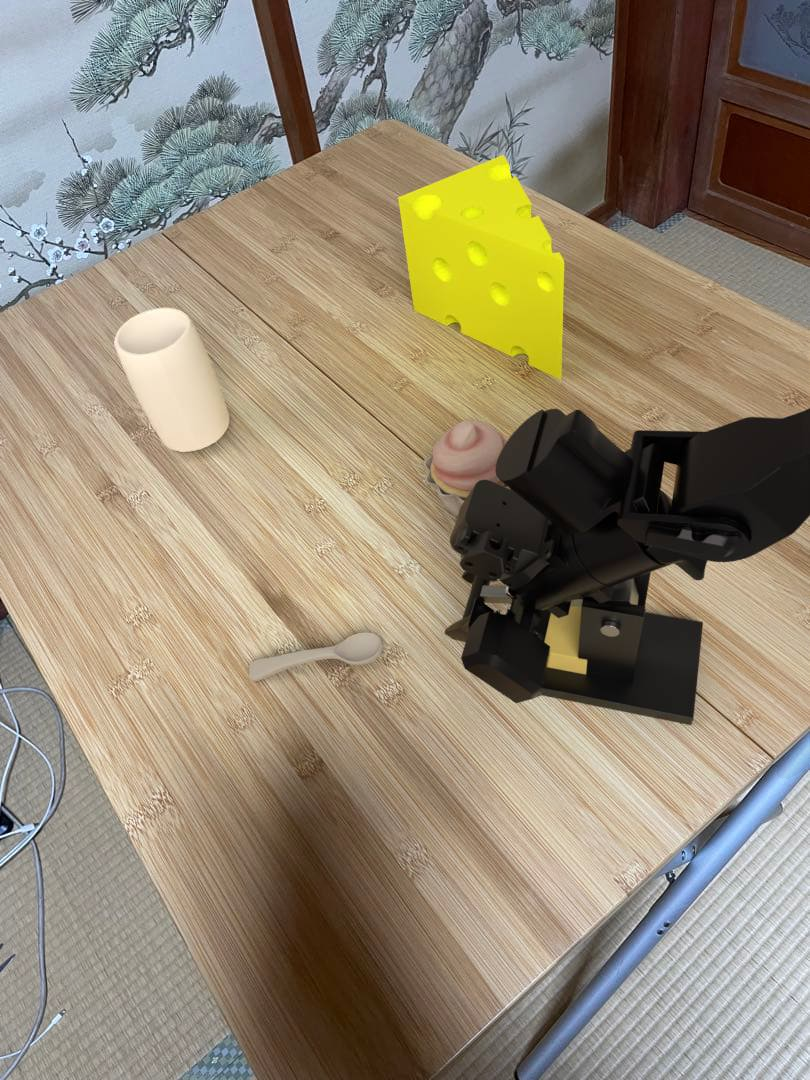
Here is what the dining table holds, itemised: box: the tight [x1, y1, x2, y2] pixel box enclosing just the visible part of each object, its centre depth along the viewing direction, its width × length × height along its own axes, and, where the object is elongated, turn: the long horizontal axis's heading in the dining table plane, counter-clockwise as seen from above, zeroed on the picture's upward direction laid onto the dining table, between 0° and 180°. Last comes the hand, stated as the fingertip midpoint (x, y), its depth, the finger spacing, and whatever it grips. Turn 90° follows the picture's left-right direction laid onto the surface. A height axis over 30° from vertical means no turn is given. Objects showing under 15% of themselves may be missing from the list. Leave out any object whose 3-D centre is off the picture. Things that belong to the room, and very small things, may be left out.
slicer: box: [539, 572, 704, 726], centre depth 65 cm, size 14×9×11 cm, turn 73°
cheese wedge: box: [397, 154, 565, 380], centre depth 94 cm, size 19×20×15 cm
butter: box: [544, 606, 587, 674], centre depth 68 cm, size 5×4×2 cm
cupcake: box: [423, 419, 510, 518], centre depth 78 cm, size 9×9×10 cm
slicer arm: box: [461, 576, 639, 619], centre depth 65 cm, size 13×6×2 cm, turn 73°
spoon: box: [248, 631, 385, 682], centre depth 72 cm, size 3×12×2 cm, turn 97°
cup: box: [113, 306, 230, 453], centre depth 88 cm, size 8×8×14 cm
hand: (457, 606), depth 70 cm, fingers closed on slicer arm, 5 cm apart
